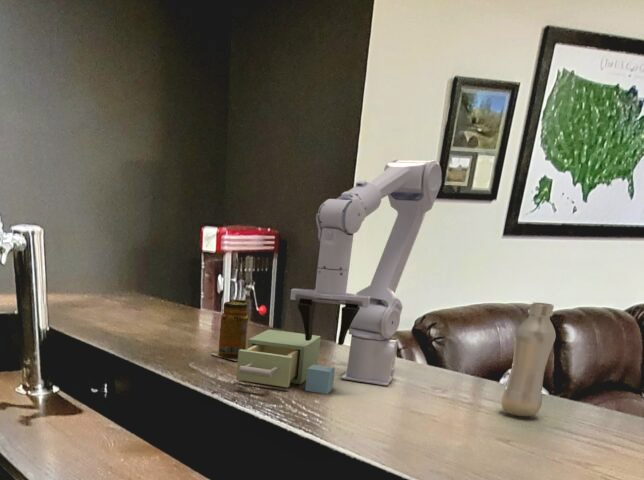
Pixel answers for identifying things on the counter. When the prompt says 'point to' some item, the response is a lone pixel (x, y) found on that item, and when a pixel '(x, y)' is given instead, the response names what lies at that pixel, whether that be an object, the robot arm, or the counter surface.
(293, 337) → the green drawer cabinet
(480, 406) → the counter surface
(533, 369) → the plastic bottle
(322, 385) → the light blue cube
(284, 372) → the green drawer
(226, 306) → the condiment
